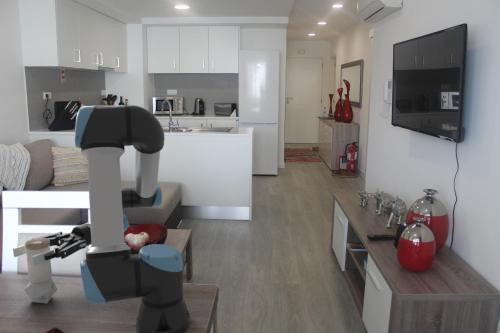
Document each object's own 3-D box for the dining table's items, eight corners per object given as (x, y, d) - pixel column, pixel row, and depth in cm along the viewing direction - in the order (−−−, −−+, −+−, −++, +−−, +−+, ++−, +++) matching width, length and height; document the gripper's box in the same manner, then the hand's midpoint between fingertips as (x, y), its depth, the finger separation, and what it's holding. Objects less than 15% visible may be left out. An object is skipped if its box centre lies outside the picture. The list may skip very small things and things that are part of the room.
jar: (56, 277, 132) (54, 241, 130) (35, 285, 127) (32, 248, 124) (44, 270, 136) (42, 236, 133) (23, 278, 130) (20, 242, 128)
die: (33, 313, 127) (52, 286, 128) (13, 295, 129) (32, 269, 129) (49, 308, 135) (67, 283, 136) (30, 291, 137) (48, 267, 137)
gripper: (109, 252, 139) (45, 278, 121) (68, 237, 151) (4, 259, 132) (108, 230, 137) (43, 254, 119) (67, 217, 149) (2, 236, 131)
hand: (23, 256), depth 126 cm, fingers open, 9 cm apart
